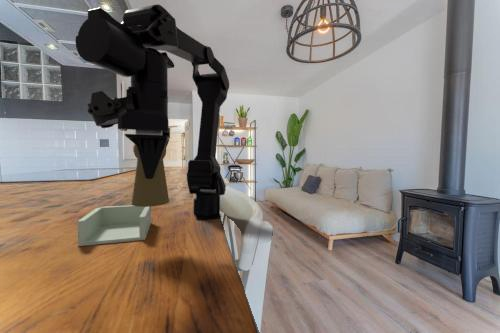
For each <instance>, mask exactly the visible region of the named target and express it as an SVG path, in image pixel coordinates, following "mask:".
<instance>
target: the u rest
mask: <svg viewBox="0 0 500 333" xmlns="http://www.w3.org/2000/svg"><path fill="white" fill-rule="evenodd" d="M151 224H152V206H150V207H138V206H133V205H132V204H129V205H128V204H127V205H113V206H97V207H96V208H94V209H93V210H91V211H90V212H89V213H87V214H86V215H84V216H83V217H82V218H80V219H79V220H77V246H78V247H83V246H84V247H85V246H95V245H105V244H106V245H107V244H113V243H114V244H115V243H116V244H117V243H126V242H136V241H145V240H146V238H147V235H148V232H149V230H150V227H151Z"/></svg>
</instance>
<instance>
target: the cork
mask: <svg viewBox="0 0 500 333" xmlns="http://www.w3.org/2000/svg"><path fill="white" fill-rule="evenodd" d="M133 154H134V156H135V158H136V159H137V161H136V170H135V176H134V183H133V190H132V191H133V192H132V199H131V205H133V206H138V207H150V206H151V207H157V206H159V207H160V206H162V205H166V204H168V203H170V199H169V198H170V197H169V192H168V191H169V190H168V186H167V178H166V177H167V176H166V170H165V164H164V158H165V157H166V155H167V147H166V146H165V148H164V151H163V153H162V156H161V158H160V161H159V164H158V166H157V169H156V172H155V174H154V177H153V178H152V179H146V178H145V174H144V170H143V166H142V163H141V159H140V155H139V151H138V148H137V146H136V145H135V144H134V145H133Z"/></svg>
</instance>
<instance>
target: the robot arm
mask: <svg viewBox="0 0 500 333" xmlns="http://www.w3.org/2000/svg"><path fill="white" fill-rule="evenodd" d="M176 22H177V21H176V19H175V17H174V16H172V15H171V13H170V12H168V10H167V9H166V8H165V7H163V6H162V5H161V4H158V3H157V4H152V5H146V6H141V7H136V8H132V9H131V8H130V9H127V10H125V12H124V13H123V17H122V22H119V21H118V20H117V19H115V18H114V17H112V15H111V14H110V13H108V12H107V11H106V10H105V9H104V8H102V7H97V8H93V9H88V10H87V19H86V20H84V22H83V23H82V24H81V25H80V27H79V30H78V32H77V35H76V36H75V47H76V51H77V53H78V56H79V57H80V58H81V59H82V60H83V61H86V62H88V63H90V64H92V65H95V66H97V67H100V68H101V69H104V70H107V71H109V72H112V73H114V74H116V75H119V76H121V77H125V78H129V77H130V86H127V87H128V88H126V90H125V91H126V96H123V97H117V96H115V97H113V98H111V97H109V95H107V94H106V93H105V92H104V91H103V90H100V91H95V92H91V96H90V97H91V98H90V102H89V103H87V108H88V109H87V113H88V114H89V115H91V117H92V119H93V121H94V124H95V126H96V127H101V128H102V129H108V128H112V127H114V125H117V129H118V130H120V131H122V132H127V131H128V130H134V132H135V133H124V136H125V137H126V138H127V139H129V140H130V141H131V142H132V143H133V144H134V145H136V146H137V148H138V151H139V155H140V159H141V163H142V166H143V170H144V174H145V178H146V179H152V178H153V177H154V174H155V172H156V169H157V166H158V164H159V161H160V158H161V156H162V153H163V151H164V148H165V146H166V148H167V147H168V145H169V142H170V139H171V129H170V127H169V124H170V123H169V117H168V116H169V111H168V110H169V108H168V105H169V94H168V93H169V92H168V88H169V87H168V85H169V84H168V69H173V68H175V63H174V62H173V60H172V59H171V58H170V57H169V56H168V53H169V54H172V55H174V56H176V57H178V58H181V59H183V60H185V61H188V62H190V63H191V66H192V67H193V68H192V81H193V83H194V84H195V87H196V88H197V89H196V92H197V95H198V97H199V99H200V101H201V115H200V123H199V132H198V133H199V134H198V142H197V143H198V144H197V151H196V152H197V153H196V156H195V157H194V159H190V160H189V161H188V164H187V173H186V182H187V187H188V192H189V194H190V195H192V194H193V195H195V198H193V199H192V201H193V202H192V208H193V211H192V212H193V216H195V220H207V219H208V220H209V219H219V218H220V219H221V218H222V215H221V213H220V212H221V211H220V210H221V196H224V195H225V193H226V188H227V186H226V183H225V180H224V178H223V176H222V173H221V166H220V164H219V162H218V159H217V158H216V155H217V144H218V134H219V133H218V132H219V122H220V121H219V120H220V112H221V106H222V105H223V104H224V102H225V101H226V100H227V96H228V92H229V91H228V90H230V80H229V76H228V75H227V70H226V69H225V68H226V67H225V66H224V65H223V64H222V63H221V62H220V61H219V59H217V58H216V57H215V55H214V52H213V50H212V48H211V47H210V46H208V45H204V44H203V43H202V42H200V41H198V40H197V39H195V38H194V37H193V36H191V35H189V34H187V32H184V31H182V30H181V29H179V27H177V23H176ZM160 51H163V52H160ZM203 65H208V66H209V68H211V69H212V70H213V71H214V72H212V73H203V74H202V73H201V74H200V71H199V66H203Z"/></svg>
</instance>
